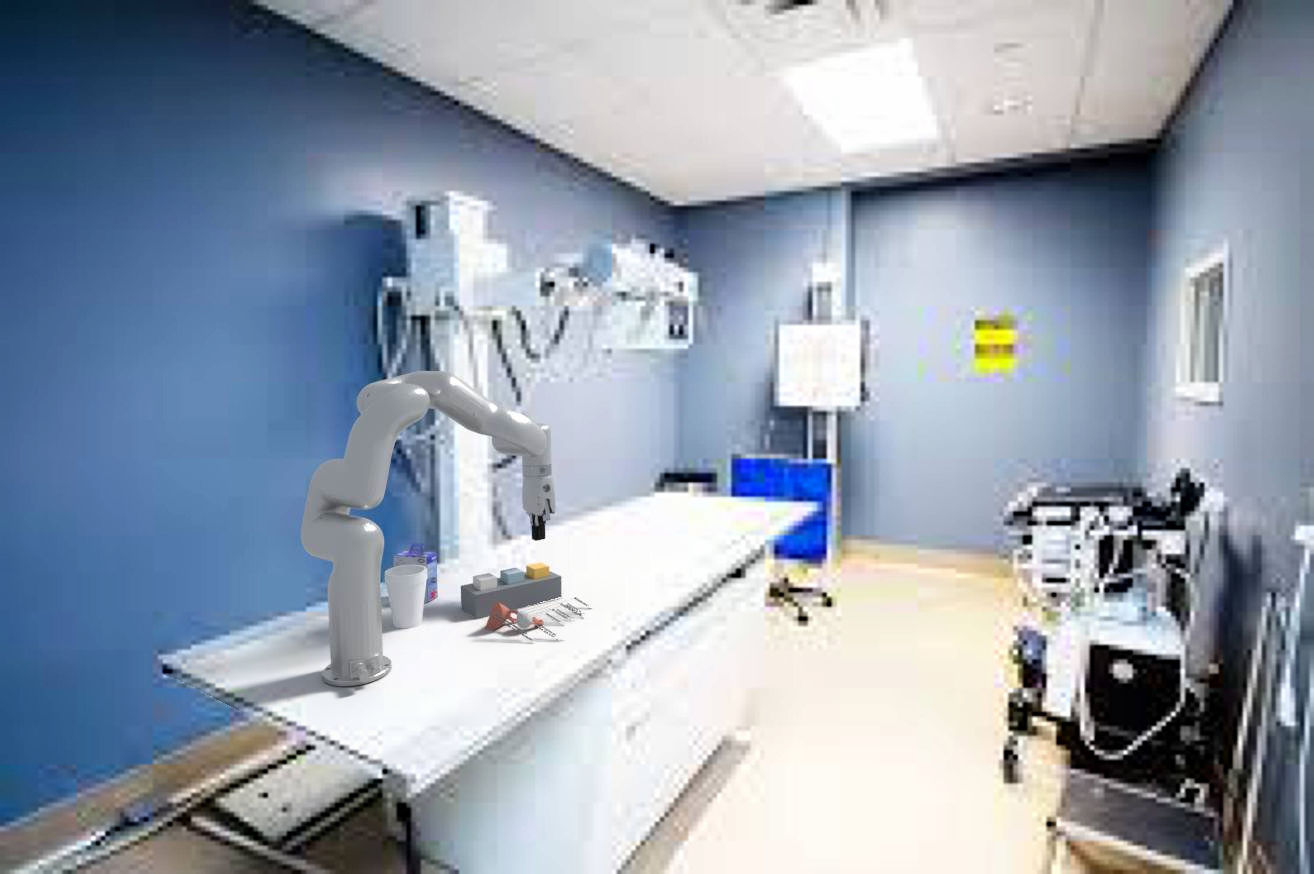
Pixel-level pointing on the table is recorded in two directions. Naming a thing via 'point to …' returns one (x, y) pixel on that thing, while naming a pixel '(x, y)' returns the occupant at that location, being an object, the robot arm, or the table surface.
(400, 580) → the foam cup
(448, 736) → the table surface
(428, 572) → the ink cartridge box
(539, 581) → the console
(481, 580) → the white cube
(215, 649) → the table surface
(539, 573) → the amber button
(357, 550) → the robot arm
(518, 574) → the light blue cube
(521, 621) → the anatomical diagram
